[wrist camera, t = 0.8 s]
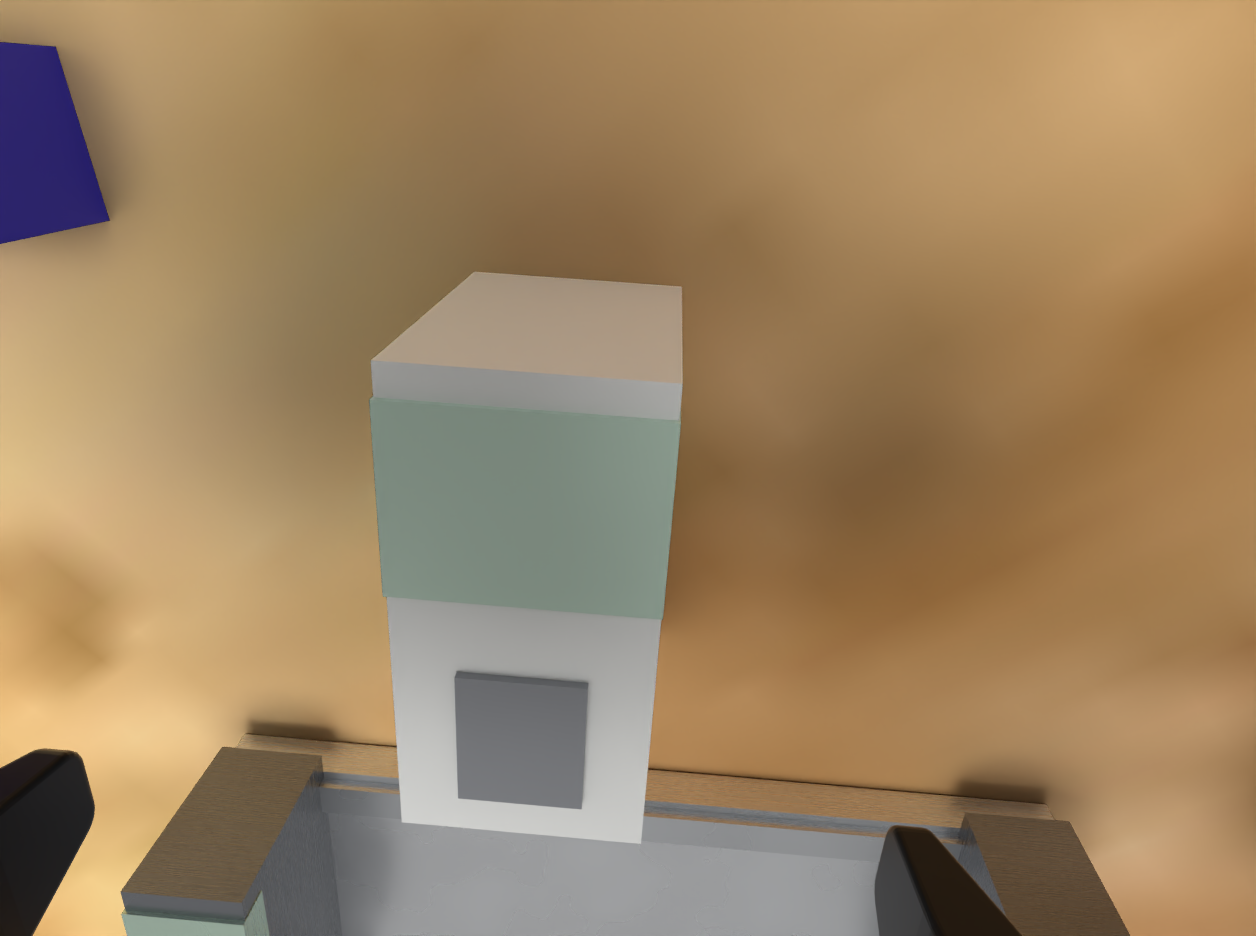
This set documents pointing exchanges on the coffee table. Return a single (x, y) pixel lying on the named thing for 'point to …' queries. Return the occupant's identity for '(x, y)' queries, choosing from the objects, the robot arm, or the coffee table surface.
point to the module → (528, 548)
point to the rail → (574, 859)
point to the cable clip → (42, 149)
